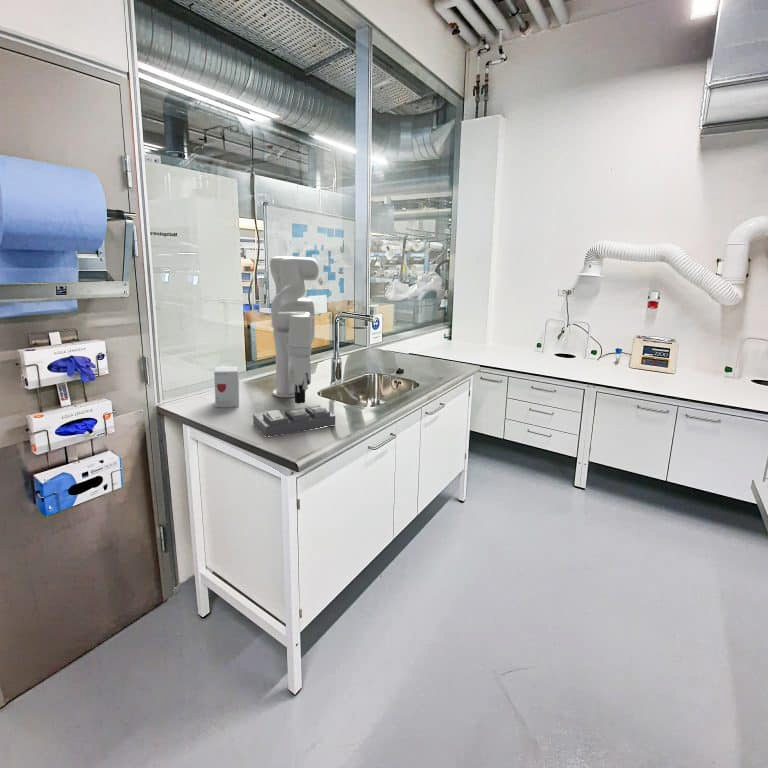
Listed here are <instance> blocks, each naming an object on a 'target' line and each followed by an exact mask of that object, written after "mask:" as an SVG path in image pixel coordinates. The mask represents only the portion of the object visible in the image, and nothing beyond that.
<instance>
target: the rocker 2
mask: <svg viewBox="0 0 768 768" xmlns="http://www.w3.org/2000/svg"><path fill="white" fill-rule="evenodd" d="M309 409H310V410H311V411H313V412H314V413H318V412H325V411H326V410H327V408H326V407H324V406H322V407H313V408H309Z"/></svg>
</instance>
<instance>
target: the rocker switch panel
mask: <svg viewBox="0 0 768 768" xmlns="http://www.w3.org/2000/svg"><path fill="white" fill-rule="evenodd" d="M313 407H323V406H322V405H320V404H316V405H314V404H313V405H309V406H302V407H301V406H300V407H295V408H288V409H278V410H279V411H280V413H281V414H282V415H283V417H284V419H277V420H272V419H271V418H269V416H268V415H267V411H266V412H259V413H258V412H257V413H253V414H252V422H253V424H254V425H255V426H256V427H257V428H258V429H259V430H260V431H261V432H262V433H263V434H264V435H265V436H266V437H268V436H274V437H276V436H275V435H279V436H282V435H281V434H285V435H288V434H287V433H291V434H294V433H293V432H297V433H299V432H298V431H303V432H305V431H304V430H309V431H311V430H310V429H314V430H316V429H315V428H320V427H324V426H330V425H335V426H336V415H335V414H333V413H332V412H330V411H329V410H328V409H326V411H325V412H318V413H314V412H313V411H311V410H310V409H309V408H313ZM292 410H303V411H305V412H306V414H305V415H299V416H293V415H292V414H291V413H289V411H292ZM254 425H253V426H254ZM255 426H254V427H255ZM256 427H255V428H256ZM257 428H256V429H257ZM258 429H257V430H258ZM320 429H321V428H320ZM259 430H258V431H259ZM260 431H259V432H260ZM261 432H260V433H261ZM262 433H261V434H262ZM263 434H262V435H263ZM264 435H263V436H264ZM265 436H264V437H265ZM266 437H265V438H266ZM268 438H269V437H268Z"/></svg>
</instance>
